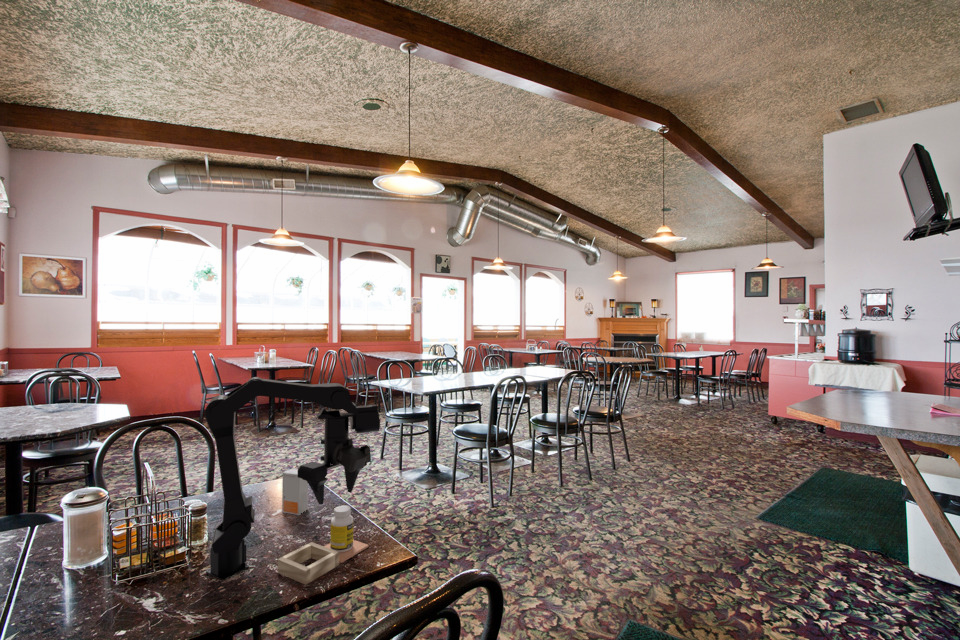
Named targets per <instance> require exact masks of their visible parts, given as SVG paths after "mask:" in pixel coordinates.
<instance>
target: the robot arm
mask: <svg viewBox="0 0 960 640" xmlns="http://www.w3.org/2000/svg"><path fill="white" fill-rule="evenodd" d="M257 397H265V398H266V397H267V398H276V399H284V400H293V401H294V400H295V401H302V402H309V403H310V402H311V403H314V404H316V405H319V406H321V407H322V408H321V409H320V410H319V411H318V412H317V413H316V415H315V417H316V419H318V420H324V432H323V433H324V438H322V439H320V444H321V445H323V447H324V449H323V450H324V451H323V455H321V456H320V461H323V463H321V462H319V463H318V462H315V461H310V462H306V463H304V464H300V465H299V467H298V468H297V469H298V478H302V479H303V480H306V481H307V482H308V487H310V489H311V490H312V493H313V495H314V497H315V499H316V501H317V503H318V505H320V506H321V505H324V499H325V484H326V482H327V481H328V480H329V478H328V477H326V476H327V475H328V471H330V470H333V469H335V468H338V467H343V468H344V469H343V470H344V477H345V485H346V489H347V492H348V493H353V491H354V490H353V489H354V487H355V484H356V481H357V479H358V475H359V473H360V471H361V470H362V469H364V468H365V467H366V466H368V463H370V462H371V461H372V459H371V458H372V454H371V447H370V446H369V445H367V444H365V445H362V446H357V447H355V446H354V441H353V439H352V438H351V437H349V430H351V431H353V430H354V432H355V433H354V434H364V433H367V434H368V433H376V432H379V431H380V429H381V428H380V427H381V419H380V415H379V414H380V413H379V410H378V408H379V406H378V405H377V404H370V405H359V406H357V405H356V404H355V403H354V402H353V401H351V393H350V391H349V389H347V388H346V386H344V385H343V384H342V383H338V382H333V383H332V382H328V383H318V384H306V383H301V382H300V383H299V382H292V381H283V380H275V379H269V378H267V379H266V378H262V377H259V376H253V377H250V378H249V379H248V380H247V381H246V382H245V383H242V384H241V385H240V386H238V387H236V388H234V389H233V390H231V391H229V392H228V393H226V394H219V395H216V396H214V397H212V398H211V400H210V401H209V402H208V404H207V406H206V407H205V409H204V417H205V420H206V423H207V425H208V429H209V431H210V432H211V435H212V436H213V438H214V441H215V445H216V446H215V447H216V453H217V461H218V468H219V472H220V479H221V480H220V481H221V485H222V492H223V493H222V494H223V503H224V504H223V505H224V506H223V517H222V521H221V522H220V523H219V525H218V526H217V527H216V528H214V532H213V537H212V542H211V546H210V548H209V549H210V550H209V551H210V552H209V553H210V554H209V555H210V556H209V557H210V560H209V563H210V565H209V567H210V568H208V569H207V570H206V572H205V573H206V574H208V575H209V576H212V577H214V578H216V579H218V580H220V581H225V580H226V579H230V578H231V577H233V576H236V575H237V574H240V573H241V572H243V571H245V570H248V569H249V568H250V565H249V564H248V563H246V562H247V544H246V543H245V542H246V540H245V538H246V537H247V536H248V535H249V534H250V533H251V530H252V524H254V523H255V516H256V515H255V513H256V512H255V509H254V507H253V496H252V495H251V496H248V497H247V498H246V496H245V492H244V490H243V486H242V478H241V471H240V466H239V465H240V464H239V457H238V451H237V450H238V449H237V444H236V438H235V429H236V428H235V427H236V425H235V424H236V412H237V411H238V410H241V409H242V408H243V407H244V406H246V405H247V404H249V403H250V402H251V401H252V400H253V399H255V398H257ZM326 408H329V409H331V410H327V409H326ZM340 410H343V411H345V412H341V411H340ZM349 419H350V420H349ZM349 424H350V427H349ZM349 428H350V429H349Z"/></svg>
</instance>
